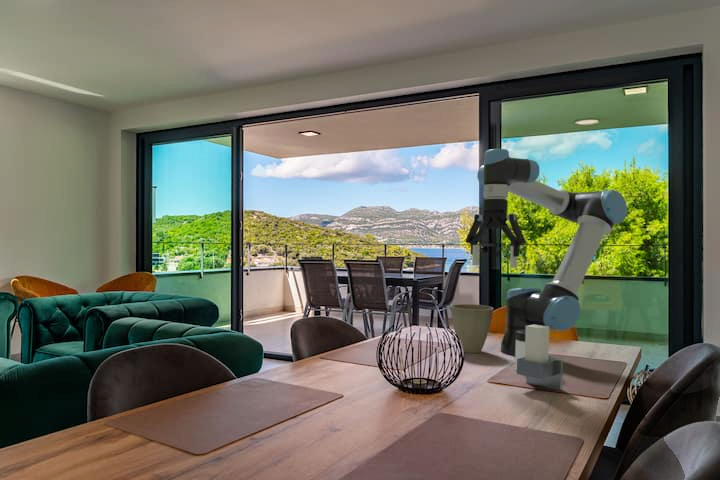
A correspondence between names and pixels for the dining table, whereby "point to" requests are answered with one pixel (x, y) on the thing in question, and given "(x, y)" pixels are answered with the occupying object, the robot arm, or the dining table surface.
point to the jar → (519, 345)
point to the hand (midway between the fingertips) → (494, 266)
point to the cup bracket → (542, 372)
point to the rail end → (537, 343)
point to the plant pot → (471, 325)
